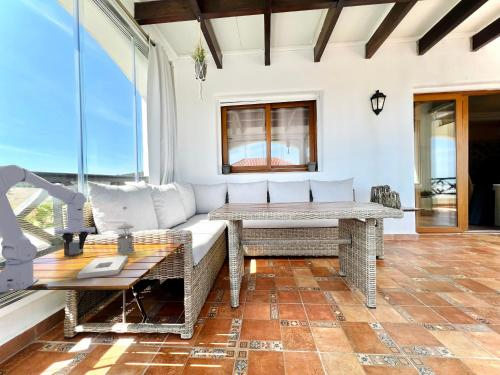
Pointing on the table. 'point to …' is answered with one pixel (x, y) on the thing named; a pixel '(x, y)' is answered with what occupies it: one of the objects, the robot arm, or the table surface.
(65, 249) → the box
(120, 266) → the base plate
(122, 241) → the french press
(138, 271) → the table surface
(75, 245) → the block
